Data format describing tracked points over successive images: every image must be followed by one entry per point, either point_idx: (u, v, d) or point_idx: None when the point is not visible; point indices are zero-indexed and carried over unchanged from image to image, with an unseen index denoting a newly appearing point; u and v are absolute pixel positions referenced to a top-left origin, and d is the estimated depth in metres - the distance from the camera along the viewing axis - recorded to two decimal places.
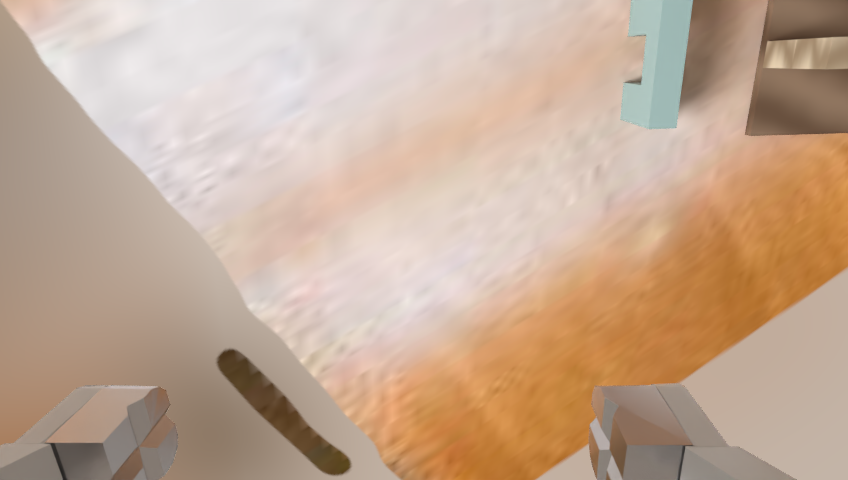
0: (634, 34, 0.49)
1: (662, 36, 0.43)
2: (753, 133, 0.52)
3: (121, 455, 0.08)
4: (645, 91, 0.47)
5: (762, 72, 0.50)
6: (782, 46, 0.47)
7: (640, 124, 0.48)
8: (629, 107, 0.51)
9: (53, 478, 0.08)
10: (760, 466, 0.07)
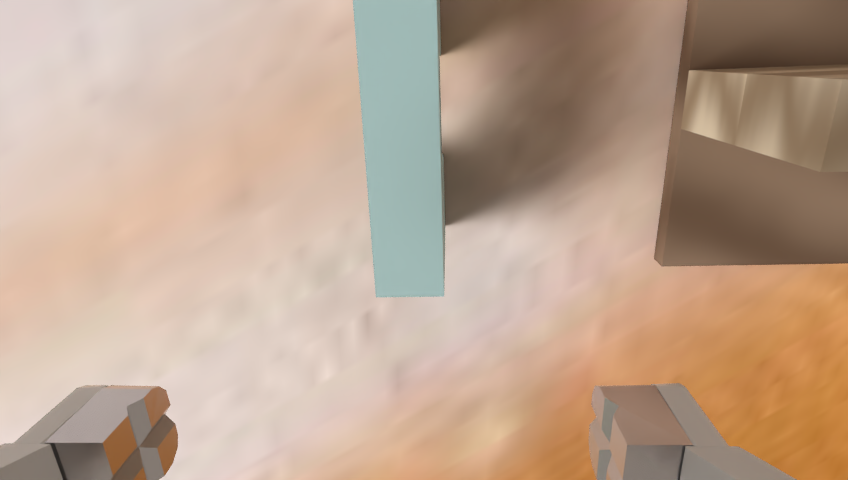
0: None
1: (367, 70, 0.16)
2: (668, 261, 0.25)
3: (121, 455, 0.08)
4: None
5: (681, 138, 0.23)
6: (716, 86, 0.19)
7: None
8: None
9: (53, 478, 0.08)
10: (760, 466, 0.07)
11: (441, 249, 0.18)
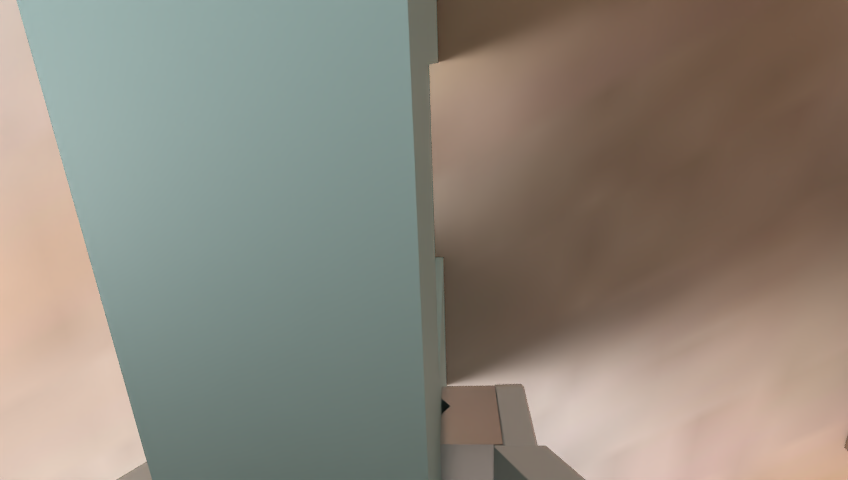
0: None
1: (95, 132, 0.03)
2: None
3: None
4: None
5: None
6: None
7: None
8: None
9: None
10: (556, 465, 0.07)
11: None
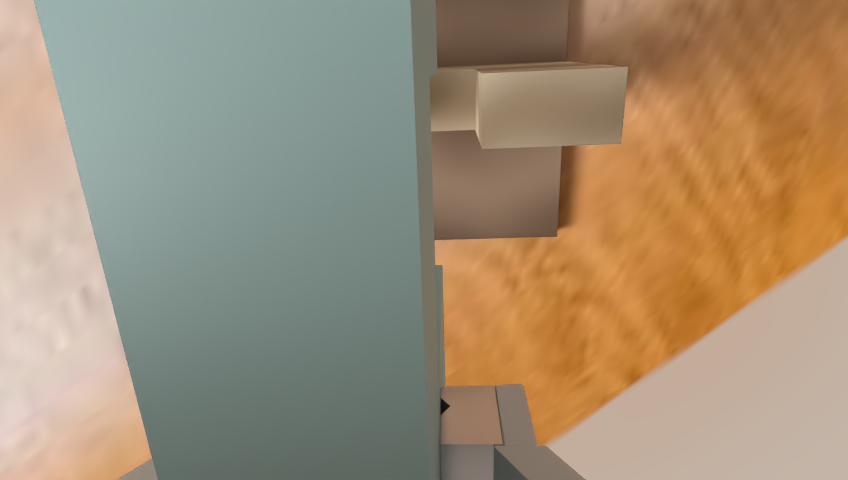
0: None
1: (109, 142, 0.04)
2: None
3: None
4: None
5: None
6: None
7: None
8: None
9: None
10: (556, 465, 0.07)
11: None
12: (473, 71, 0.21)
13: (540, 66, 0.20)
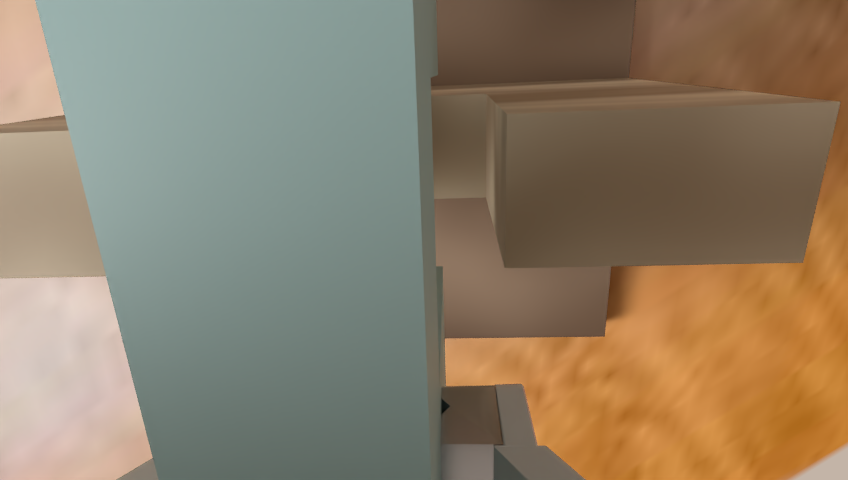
0: None
1: (112, 144, 0.04)
2: None
3: None
4: None
5: None
6: None
7: None
8: None
9: None
10: (556, 465, 0.07)
11: None
12: (484, 98, 0.12)
13: (608, 91, 0.11)
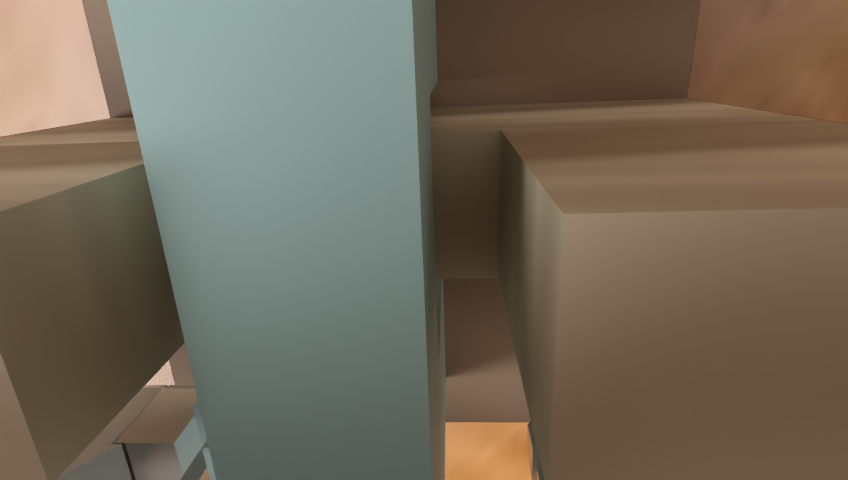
0: None
1: (176, 166, 0.05)
2: None
3: (189, 456, 0.08)
4: None
5: None
6: None
7: None
8: None
9: (123, 479, 0.08)
10: None
11: None
12: (497, 136, 0.08)
13: (696, 132, 0.07)
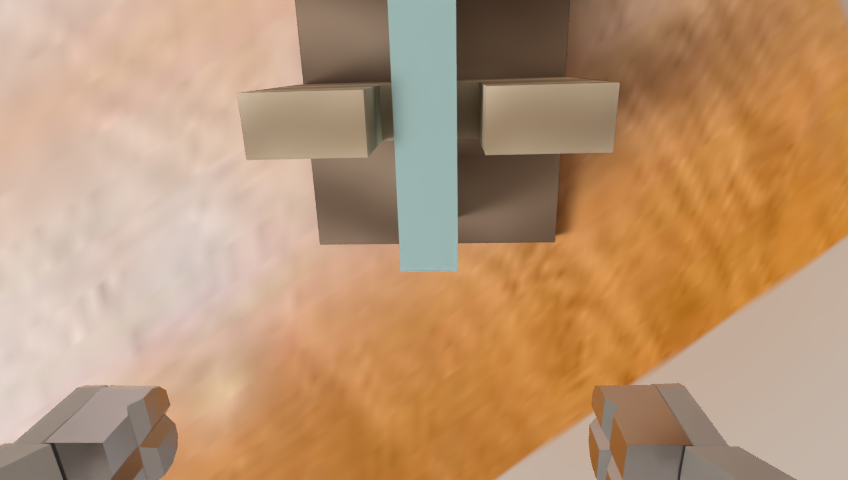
0: None
1: (398, 81, 0.19)
2: (324, 240, 0.30)
3: (121, 455, 0.08)
4: None
5: None
6: None
7: None
8: None
9: (53, 478, 0.08)
10: (760, 466, 0.07)
11: (456, 230, 0.21)
12: (478, 84, 0.22)
13: None
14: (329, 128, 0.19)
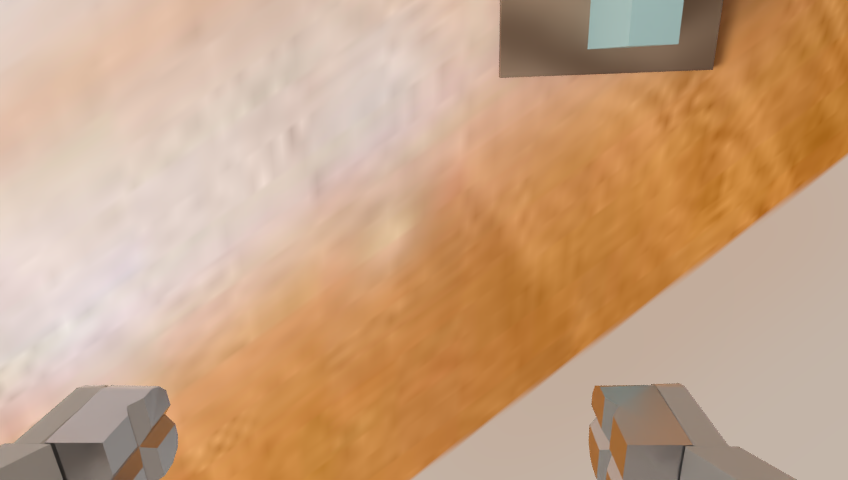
0: None
1: None
2: (504, 73, 0.34)
3: (121, 455, 0.08)
4: None
5: None
6: None
7: (615, 43, 0.27)
8: (599, 22, 0.30)
9: (53, 478, 0.08)
10: (760, 466, 0.07)
11: (682, 4, 0.25)
12: None
13: None
14: None
